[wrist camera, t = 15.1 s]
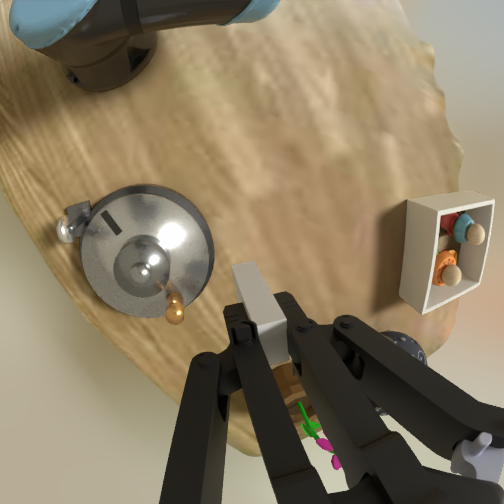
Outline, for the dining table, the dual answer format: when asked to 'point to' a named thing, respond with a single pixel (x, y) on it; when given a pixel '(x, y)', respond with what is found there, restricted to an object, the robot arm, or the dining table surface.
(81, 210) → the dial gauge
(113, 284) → the turntable
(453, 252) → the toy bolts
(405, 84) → the dining table surface
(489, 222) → the parts crate
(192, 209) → the turntable base
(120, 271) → the cover
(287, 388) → the flowerpot
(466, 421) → the robot arm
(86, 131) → the dining table surface
